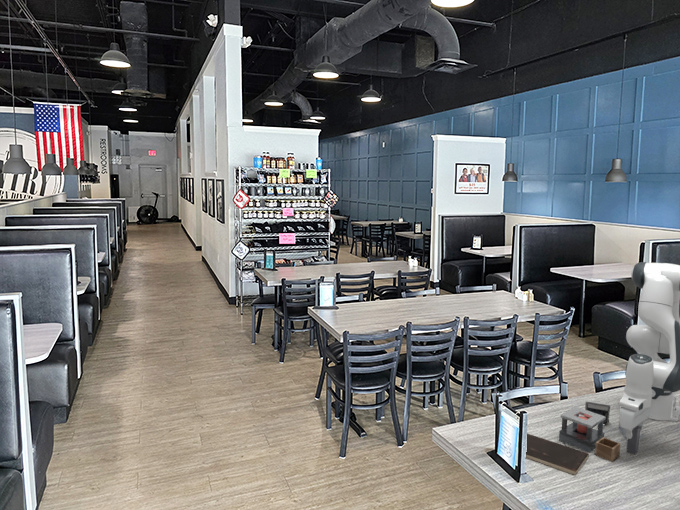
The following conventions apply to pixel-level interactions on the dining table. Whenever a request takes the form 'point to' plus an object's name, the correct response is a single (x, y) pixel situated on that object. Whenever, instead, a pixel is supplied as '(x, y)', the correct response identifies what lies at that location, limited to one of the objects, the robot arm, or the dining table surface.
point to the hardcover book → (555, 454)
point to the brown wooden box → (607, 449)
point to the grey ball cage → (576, 438)
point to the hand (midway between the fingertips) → (634, 433)
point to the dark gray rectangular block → (634, 441)
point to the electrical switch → (598, 409)
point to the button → (582, 428)
